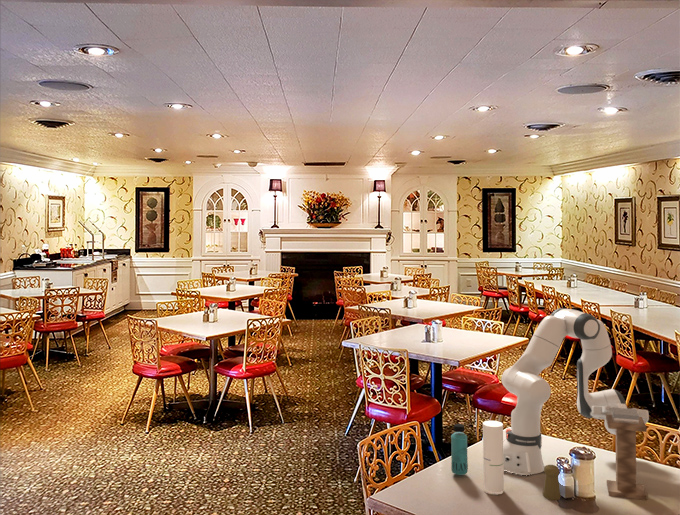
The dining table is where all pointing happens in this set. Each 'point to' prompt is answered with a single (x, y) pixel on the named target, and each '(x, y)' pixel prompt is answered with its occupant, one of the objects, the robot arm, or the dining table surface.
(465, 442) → the beverage bottle
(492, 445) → the cylindrical container
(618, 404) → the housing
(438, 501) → the dining table surface
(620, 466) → the stand
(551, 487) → the olive shaker
